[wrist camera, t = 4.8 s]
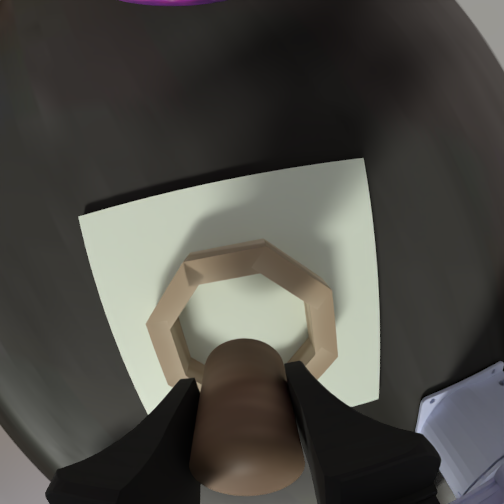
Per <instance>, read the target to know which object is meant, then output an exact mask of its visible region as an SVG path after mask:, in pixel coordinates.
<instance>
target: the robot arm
mask: <svg viewBox="0 0 504 504" xmlns="http://www.w3.org/2000/svg"><path fill="white" fill-rule="evenodd" d="M503 366H504V363H503V362H502V361H499V362H497V363H496V364H494V365H492V366H490V367H488V368H486V369H484V370H483V371H481V372H479V373H477V374H475V375H473V376H471V377H469V378H467V379H465V380H462V381H460V382H458V383H456V384H454V385H452V386H449V387H447V388H445V389H443V390H440V391H438V392H436V393H433V394H431V395H428V396H426V397H424V398H423V399H422V400H421V403H420V408H419V414H418V419H417V424H416V429H415V432H412V431H407V430H403V429H399V428H395V427H392V426H389V425H386V424H383V423H381V422H379V421H376V420H374V419H372V418H370V417H367V416H365V415H363V414H362V413H360V412H358V411H356V410H355V409H353V408H351V407H350V406H348V405H347V404H345V403H344V402H342V401H341V400H340V399H338V398H337V397H336V396H335V395H333V394H332V393H331V392H330V391H328V390H327V389H326V388H325V387H324V386H323V385H322V384H321V383H320V382H319V381H318V380H317V379H316V378H315V377H314V376H313V375H312V374H311V373H310V372H309V370H308V369H307V368H306V367H305V365H304V364H303V362H301V361H300V360H299V361H294V362H290V363H285V364H284V367H285V372H286V378H287V384H288V388H289V393H290V398H291V401H292V405H293V410H294V414H295V419H296V423H297V428H298V433H299V437H300V440H301V443H302V446H303V449H304V452H305V455H306V458H307V461H308V464H309V467H310V471H311V475H312V480H313V484H314V489H315V494H316V499H317V504H440V503H439V501H438V499H437V497H436V494H437V489H436V487H435V486H434V484H433V482H434V480H435V477H436V475H437V473H438V470H440V472H441V473H442V475H443V476H444V478H445V480H446V482H447V483H448V485H449V487H450V488H451V490H452V492H453V493H454V495H455V497H456V500H454V501H452V502H450V503H449V504H504V372H503V371H502V370H503ZM199 397H200V391H199V388H198V386H197V383H196V380H195V378H186V379H180V380H179V381H178V382H177V383H176V384H175V386H174V387H173V388H172V389H171V390H170V392H169V393H168V394H167V395H166V396H165V397H164V399H163V400H162V401H161V402H160V403H159V404H158V405H157V406H156V408H155V409H154V410H153V411H152V412H151V413H150V414H149V415H148V416H147V417H146V418H145V419H144V420H143V421H142V422H141V423H140V424H138V425H137V426H136V427H135V428H134V429H133V430H132V431H130V432H129V433H128V434H126V435H125V436H124V437H123V438H121V439H120V440H118V441H117V442H115V443H114V444H112V445H111V446H109V447H107V448H106V449H104V450H103V451H101V452H99V453H97V454H95V455H93V456H91V457H89V458H87V459H85V460H82V461H80V462H78V463H75V464H72V465H69V466H66V467H64V468H60V469H58V470H57V471H56V473H55V475H54V477H53V479H52V481H51V483H50V485H49V487H48V488H47V490H46V492H45V495H46V498H47V500H48V502H49V503H50V504H200V484H201V483H200V482H198V481H197V480H196V479H195V478H194V477H193V475H192V474H191V471H190V468H189V462H190V455H191V448H192V442H193V435H194V429H195V422H196V416H197V410H198V404H199Z"/></svg>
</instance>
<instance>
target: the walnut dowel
mask: <svg viewBox="0 0 504 504" xmlns="http://www.w3.org/2000/svg"><path fill="white" fill-rule="evenodd" d="M304 467H305V461H304V456H303V451H302V446H301V442H300V437H299V433H298V428H297V423H296V419H295V414H294V410H293V405H292V401H291V398H290V393H289V388H288V384H287V378H286V373H285V368H284V364H283V361H282V358H281V356H280V355H279V353H278V352H277V351H276V350H275V349H274V348H273V347H271V346H270V345H268V344H267V343H265V342H262V341H259V340H255V339H249V338H240V339H233V340H230V341H227V342H224V343H222V344H221V345H219V346H217V347H216V348H215V349H214V350H213V351H212V352H211V353H210V354H209V356H208V358H207V360H206V363H205V368H204V373H203V379H202V385H201V391H200V397H199V404H198V410H197V416H196V422H195V429H194V435H193V442H192V448H191V455H190V462H189V468H190V471H191V474H192V475H193V477H194V478H195V479H196V480H197V481H198V482H200V483H201V484H202V485H204V486H206V487H208V488H210V489H212V490H214V491H217V492H220V493H224V494H229V495H237V496H255V495H263V494H268V493H272V492H275V491H278V490H280V489H283V488H285V487H287V486H289V485H290V484H292V483H293V482H294V481H296V480H297V479H298V478H299V477H300V475H301V474H302V472H303V470H304Z"/></svg>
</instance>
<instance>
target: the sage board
mask: <svg viewBox="0 0 504 504" xmlns="http://www.w3.org/2000/svg"><path fill="white" fill-rule="evenodd" d="M79 222H80V226H81V230H82V235H83V239H84V243H85V247H86V250H87V254H88V258H89V262H90V265H91V269H92V272H93V276H94V279H95V282H96V286H97V289H98V292H99V295H100V298H101V301H102V304H103V307H104V310H105V313H106V316H107V319H108V322H109V325H110V327H111V330H112V333H113V335H114V338H115V341H116V343H117V346H118V348H119V351H120V353H121V356H122V358H123V361H124V363H125V365H126V368H127V370H128V373H129V375H130V377H131V379H132V382H133V384H134V386H135V388H136V390H137V393H138V395H139V397H140V399H141V401H142V403H143V405H144V407H145V409H146V411H147V413H148V415H149V414H150V413H151V412H152V411H153V410H154V409H155V408H156V406H157V405H158V404H159V403H160V402H161V401H162V400H163V399H164V397H165V396H166V395H167V394H168V393H169V392H170V390H171V389H172V388H173V387H171V386H169V385H168V384H167V381H166V379H165V376H164V373H163V371H162V368H161V366H160V363H159V360H158V358H157V355H156V352H155V350H154V347H153V344H152V341H151V338H150V335H149V332H148V330H147V327H146V322H147V321H148V319H149V317H150V315H151V314H152V312H153V310H154V309H155V307H156V305H157V304H158V302H159V300H160V299H161V297H162V295H163V294H164V292H165V290H166V289H167V287H168V285H169V284H170V282H171V281H172V279H173V277H174V276H175V274H176V272H177V271H178V269H179V268H180V266H181V264H182V263H183V261H184V260H185V259H186V257H187V256H188V255H189V253H191V252H196V251H201V250H206V249H211V248H216V247H221V246H227V245H232V244H237V243H242V242H247V241H253V240H258V239H263V238H264V239H265V240H267V241H268V242H270V243H271V244H273V245H274V246H276V247H277V248H278V249H280V250H281V251H283V252H284V253H286V254H287V255H289V256H290V257H292V258H293V259H295V260H296V261H298V262H299V263H301V264H302V265H304V266H305V267H307V268H308V269H309V270H311V271H312V272H314V273H315V274H317V275H318V276H320V277H321V278H322V279H323V280H324V281H325V282H326V283H327V285H328V286H329V287H330V288H331V290H332V295H333V304H334V314H335V325H336V337H337V349H338V357H337V359H336V360H335V361H334V362H333V363H332V364H331V365H330V367H329V368H328V369H327V370H326V371H325V372H324V373H323V374H322V376H321V377H320V378H319V379H318V381H319V382H320V383H321V384H322V385H323V386H324V387H325V388H326V389H327V390H328V391H330V392H331V393H332V394H333V395H335V396H336V397H337V398H338V399H340V400H341V401H342V402H344V403H345V404H347V405H348V406H350V407H352V406H356V405H360V404H363V403H366V402H370V401H373V400H376V399H379V376H380V313H379V289H378V272H377V259H376V247H375V237H374V228H373V219H372V211H371V203H370V196H369V189H368V182H367V176H366V170H365V164H364V158H358V159H350V160H342V161H335V162H328V163H321V164H314V165H307V166H301V167H294V168H288V169H282V170H276V171H271V172H265V173H259V174H254V175H248V176H243V177H238V178H233V179H228V180H223V181H218V182H213V183H209V184H204V185H199V186H195V187H190V188H186V189H181V190H177V191H173V192H169V193H164V194H160V195H156V196H152V197H148V198H144V199H140V200H136V201H133V202H129V203H125V204H121V205H118V206H114V207H110V208H107V209H103V210H100V211H96V212H93V213H89V214H86V215H83V216H79ZM178 317H179V320H180V324H181V327H182V330H183V334H184V337H185V340H186V343H187V346H188V350H189V353H190V356H191V357H192V358H193V359H195V360H197V361H199V362H200V363H202V364H204V365H205V363H206V360H207V358H208V356H209V354H210V353H211V352H212V351H213V350H214V349H215V348H216V347H217V346H219V345H221V344H222V343H224V342H227V341H230V340H233V339H240V338H249V339H255V340H259V341H262V342H265V343H267V344H268V345H270V346H271V347H273V348H274V349H275V350H276V351H277V352H278V353H279V355H280V356H281V358H282V361H283V364H285V363H287V362H288V361H289V360H290V358H291V357H292V356H293V355H294V354H295V353H296V351H297V350H298V349H299V348H300V347H301V345H302V344H303V343H304V342H305V340H306V339H307V338H308V329H307V322H306V315H305V308H304V301H303V300H301V299H299V298H298V297H296V296H295V295H293V294H292V293H290V292H288V291H287V290H285V289H284V288H282V287H281V286H279V285H278V284H276V283H275V282H273V281H271V280H270V279H268V278H267V277H265V276H264V275H262V274H261V273H259V274H254V275H249V276H243V277H238V278H233V279H227V280H222V281H216V282H211V283H205V284H200V285H199V286H198V287H197V289H196V290H195V292H194V293H193V295H192V296H191V298H190V299H189V301H188V302H187V304H186V305H185V307H184V309H183V310H182V312H181V313H180V315H179V316H178Z"/></svg>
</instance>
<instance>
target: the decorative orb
mask: <svg viewBox="0 0 504 504" xmlns="http://www.w3.org/2000/svg"><path fill="white" fill-rule="evenodd" d="M120 1H124V2H130V3H136V4H143V5H154V6H189V5H200V4H209V3H215V2H221V1H226V0H120Z"/></svg>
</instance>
